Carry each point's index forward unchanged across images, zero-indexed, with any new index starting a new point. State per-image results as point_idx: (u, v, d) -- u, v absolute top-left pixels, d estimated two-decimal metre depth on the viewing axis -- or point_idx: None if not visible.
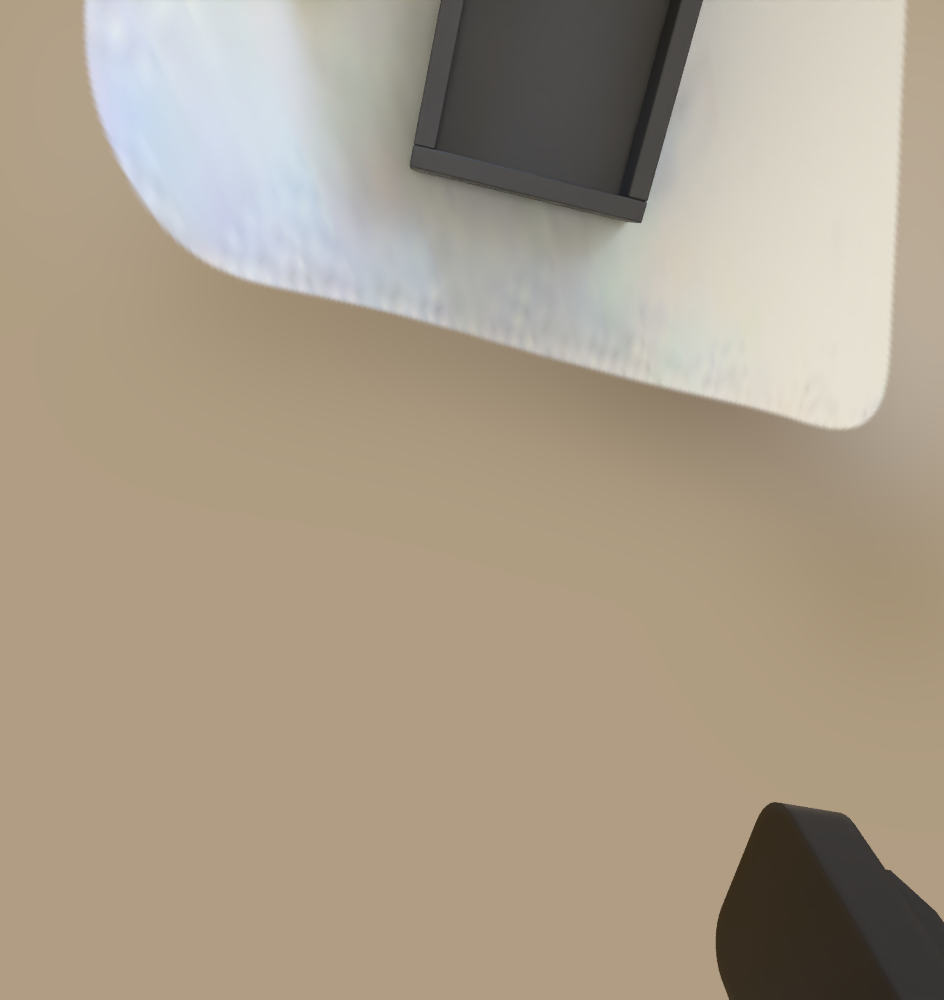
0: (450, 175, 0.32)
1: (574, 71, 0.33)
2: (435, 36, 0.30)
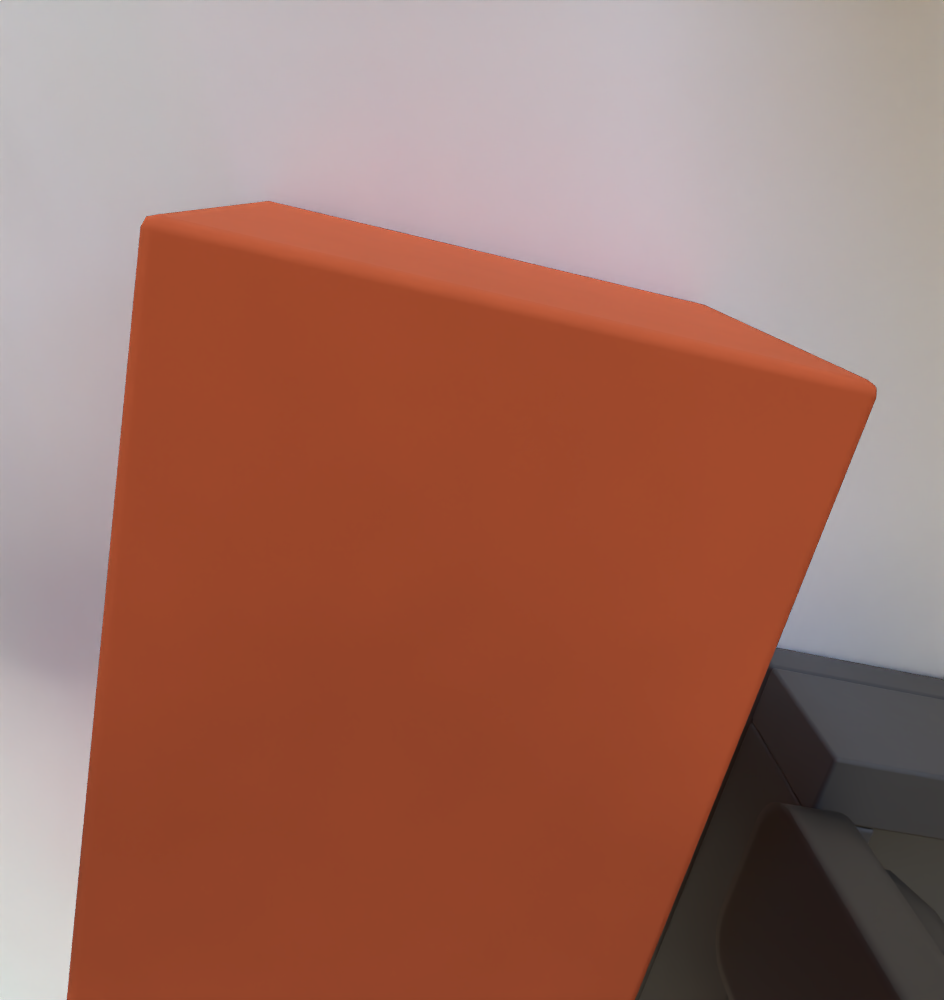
0: None
1: None
2: None
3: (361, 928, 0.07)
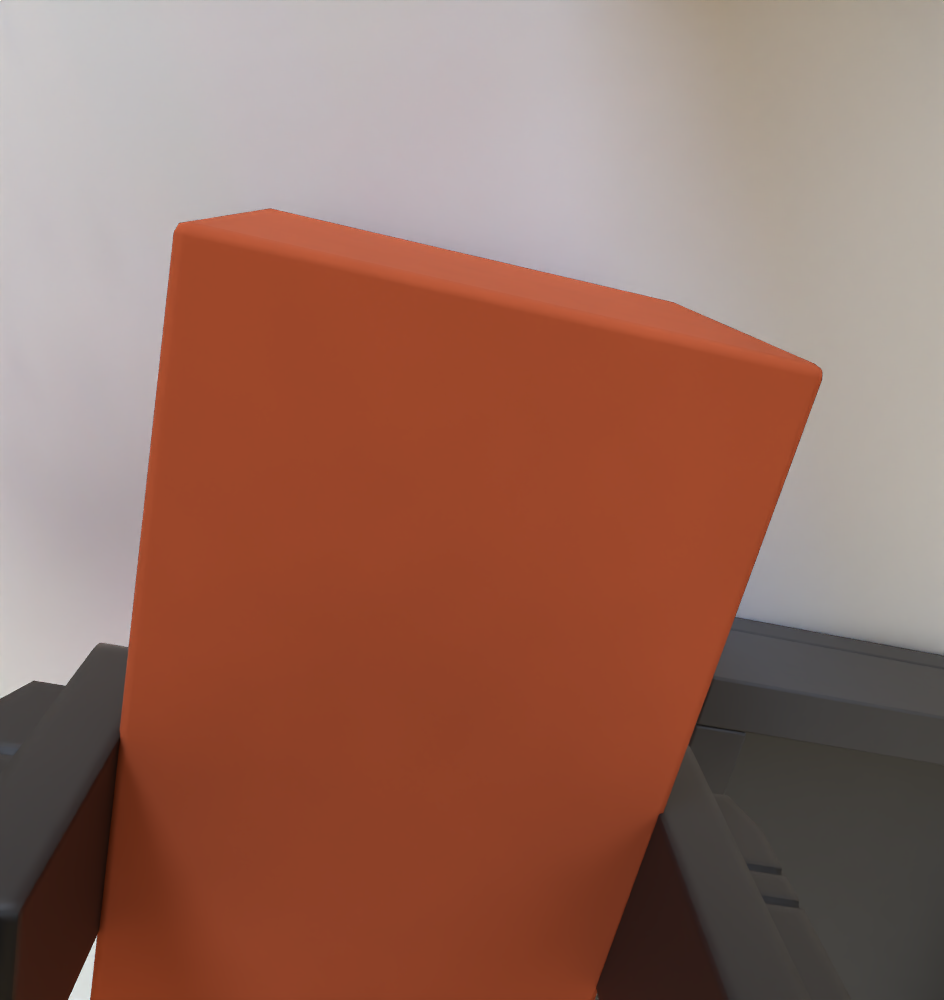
0: None
1: None
2: None
3: (369, 871, 0.08)
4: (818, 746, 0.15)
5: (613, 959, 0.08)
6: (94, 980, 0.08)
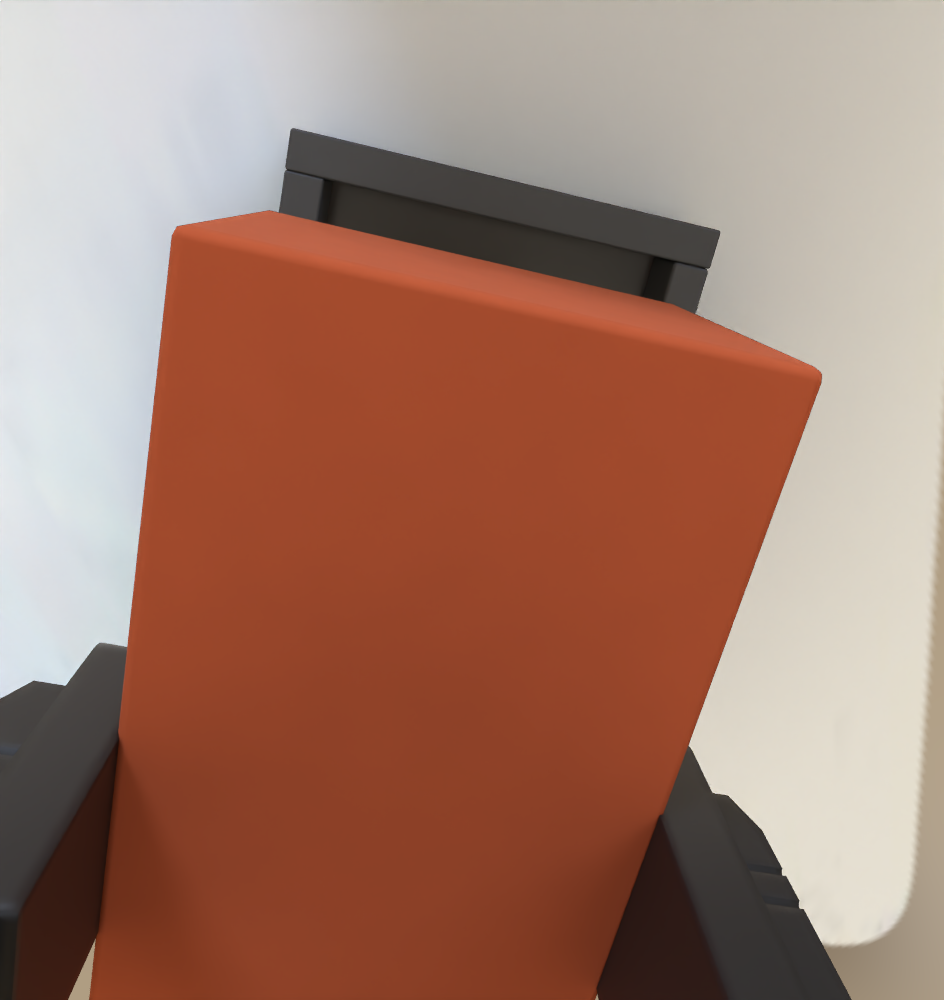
0: None
1: None
2: None
3: (367, 874, 0.08)
4: None
5: (613, 959, 0.08)
6: (92, 983, 0.08)
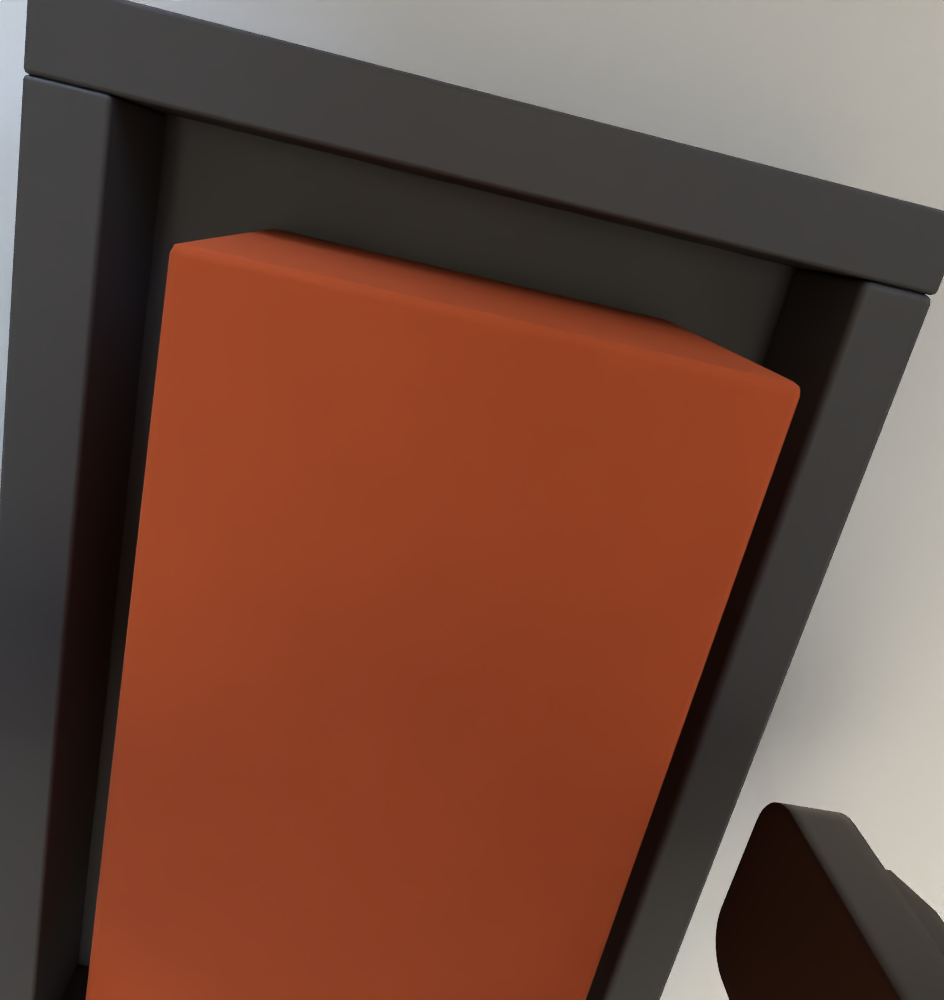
0: None
1: None
2: None
3: (358, 876, 0.08)
4: None
5: None
6: (89, 979, 0.08)
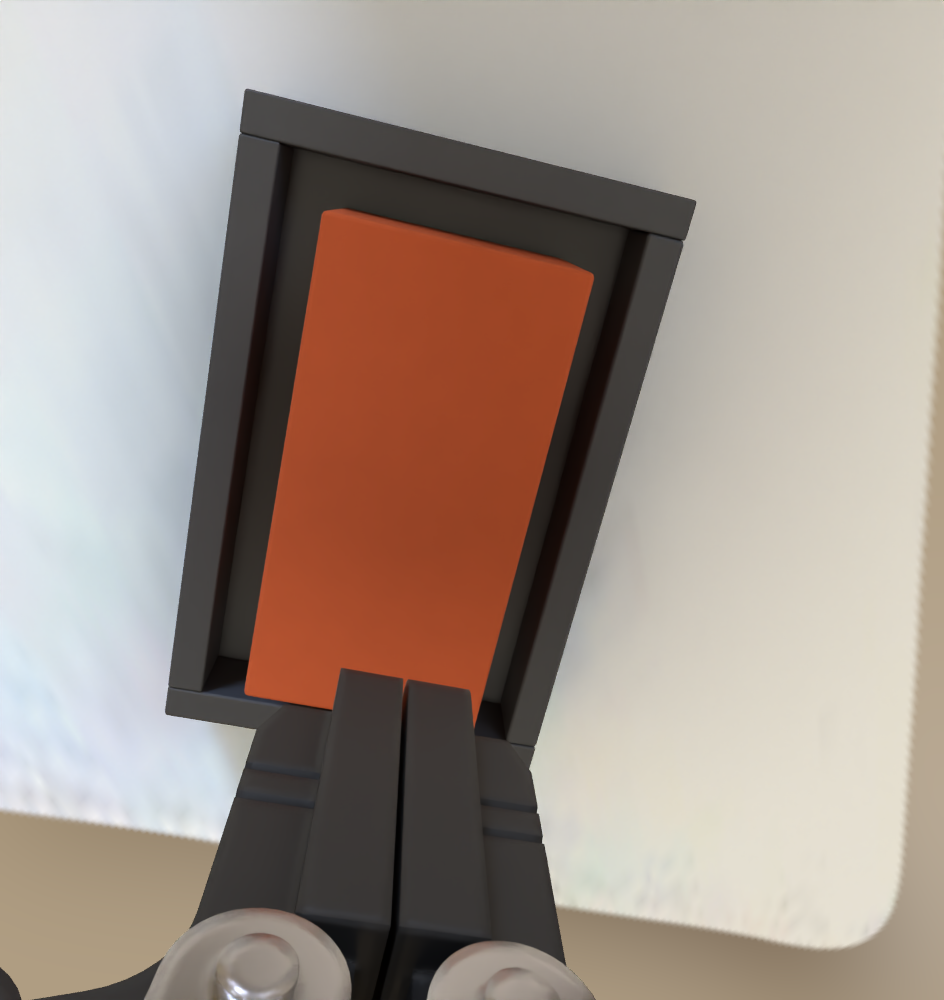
0: (229, 724, 0.21)
1: None
2: (187, 548, 0.19)
3: (396, 518, 0.17)
4: None
5: None
6: (264, 574, 0.17)
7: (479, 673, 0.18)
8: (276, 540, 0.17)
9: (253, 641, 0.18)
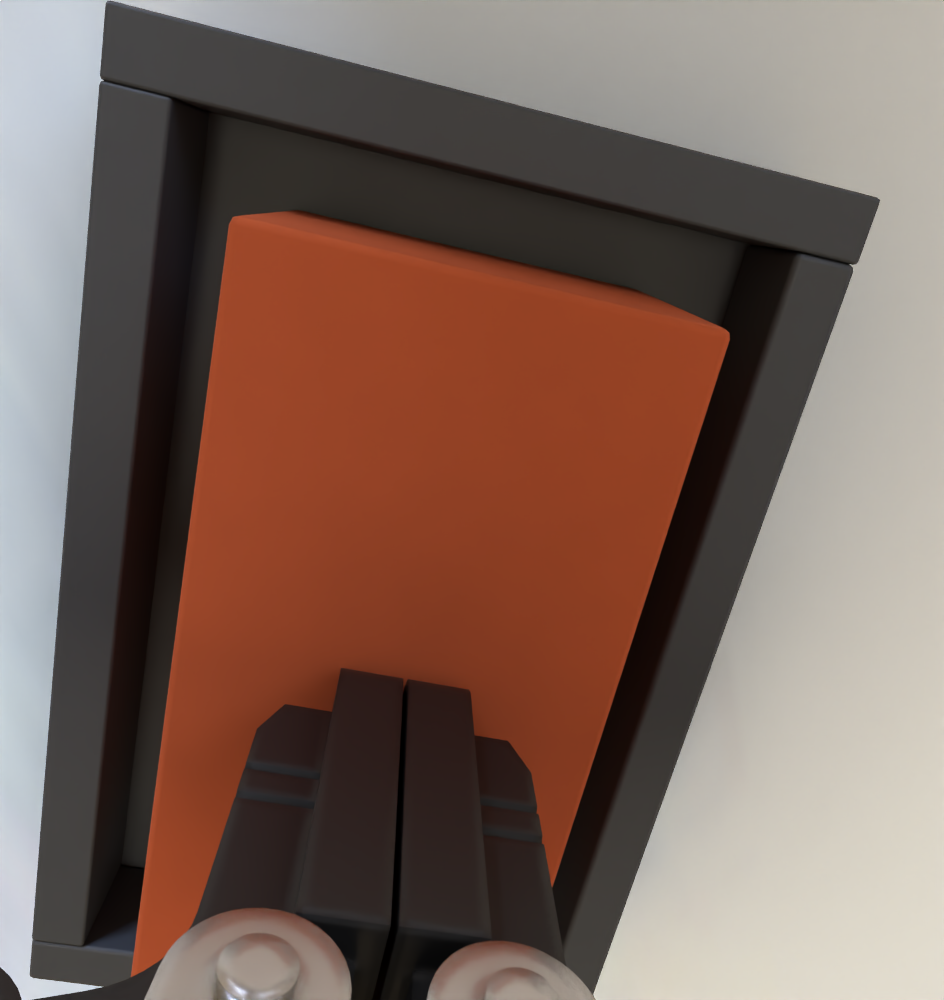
0: None
1: None
2: (50, 745, 0.12)
3: None
4: None
5: None
6: (151, 830, 0.10)
7: None
8: (169, 779, 0.10)
9: (139, 928, 0.11)
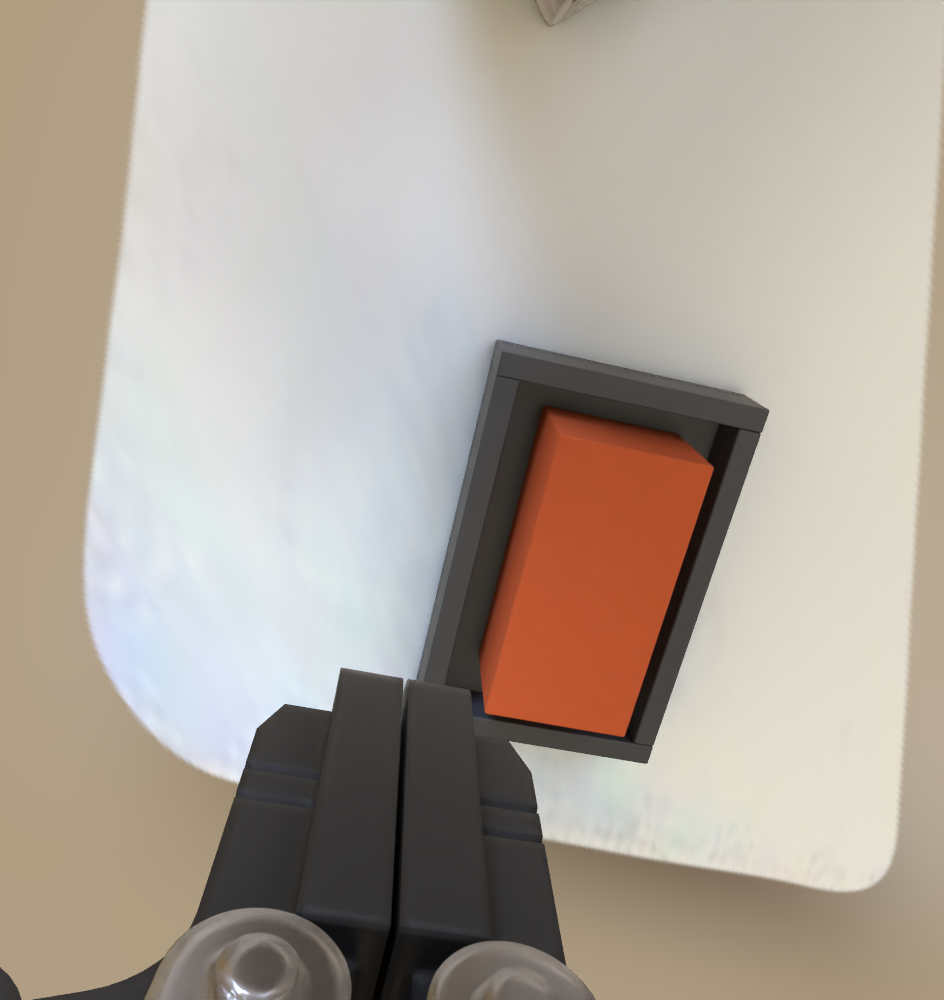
0: None
1: None
2: (439, 618, 0.30)
3: (588, 606, 0.28)
4: None
5: None
6: (505, 640, 0.28)
7: (631, 699, 0.29)
8: (514, 619, 0.28)
9: (493, 680, 0.29)
